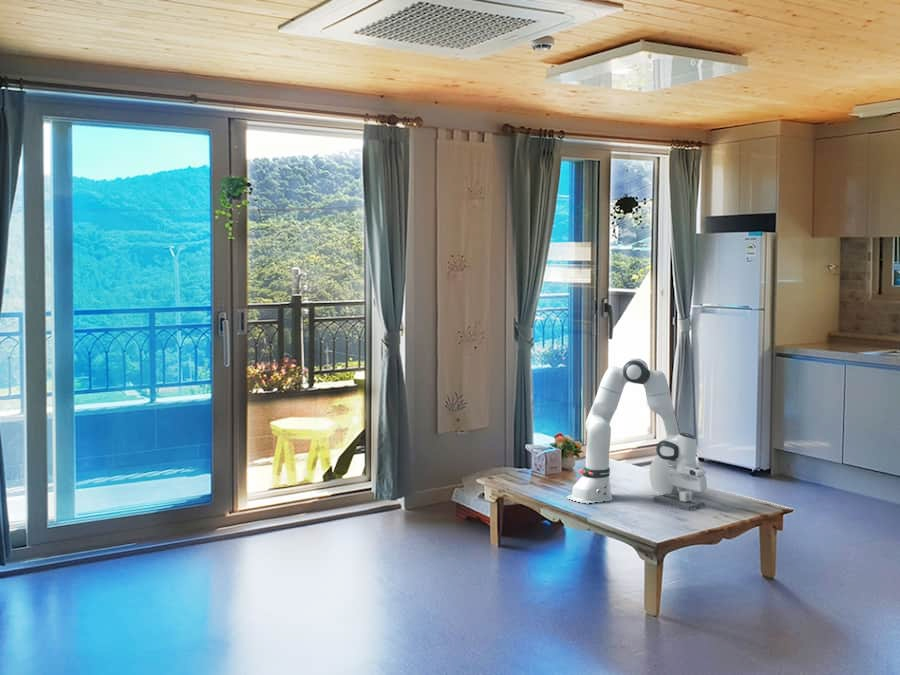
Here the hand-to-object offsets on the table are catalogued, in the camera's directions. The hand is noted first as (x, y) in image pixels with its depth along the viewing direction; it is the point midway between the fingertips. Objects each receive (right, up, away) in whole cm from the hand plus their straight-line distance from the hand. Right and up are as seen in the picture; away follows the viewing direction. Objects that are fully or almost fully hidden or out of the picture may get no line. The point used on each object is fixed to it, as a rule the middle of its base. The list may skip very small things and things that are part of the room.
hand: (685, 497), depth 403 cm
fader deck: (-2, -3, +3) cm, 5 cm away
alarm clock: (-3, -2, +22) cm, 22 cm away
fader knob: (0, -2, 0) cm, 2 cm away
